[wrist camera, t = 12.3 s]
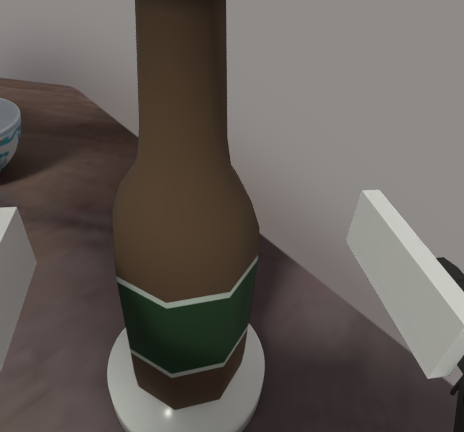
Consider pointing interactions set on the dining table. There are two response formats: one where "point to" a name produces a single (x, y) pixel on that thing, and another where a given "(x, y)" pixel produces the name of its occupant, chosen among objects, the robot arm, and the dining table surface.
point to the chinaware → (8, 130)
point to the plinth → (194, 417)
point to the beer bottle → (184, 212)
